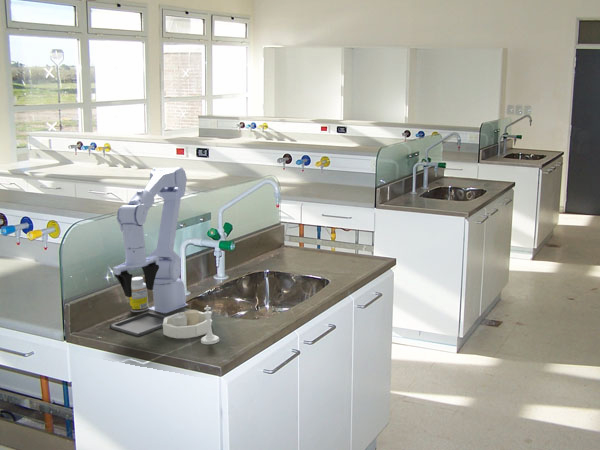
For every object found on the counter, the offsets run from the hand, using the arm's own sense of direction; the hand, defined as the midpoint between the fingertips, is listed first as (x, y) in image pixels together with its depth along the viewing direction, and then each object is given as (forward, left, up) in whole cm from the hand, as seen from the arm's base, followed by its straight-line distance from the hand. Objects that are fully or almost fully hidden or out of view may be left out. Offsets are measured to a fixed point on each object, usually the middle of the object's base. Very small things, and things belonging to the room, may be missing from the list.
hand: (139, 292), depth 204 cm
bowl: (-4, +15, -10) cm, 18 cm away
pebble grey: (-1, +15, -9) cm, 18 cm away
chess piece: (-2, +26, -10) cm, 28 cm away
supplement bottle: (-9, -12, -10) cm, 18 cm away
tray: (0, +1, -10) cm, 10 cm away
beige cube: (-6, +15, -9) cm, 18 cm away
